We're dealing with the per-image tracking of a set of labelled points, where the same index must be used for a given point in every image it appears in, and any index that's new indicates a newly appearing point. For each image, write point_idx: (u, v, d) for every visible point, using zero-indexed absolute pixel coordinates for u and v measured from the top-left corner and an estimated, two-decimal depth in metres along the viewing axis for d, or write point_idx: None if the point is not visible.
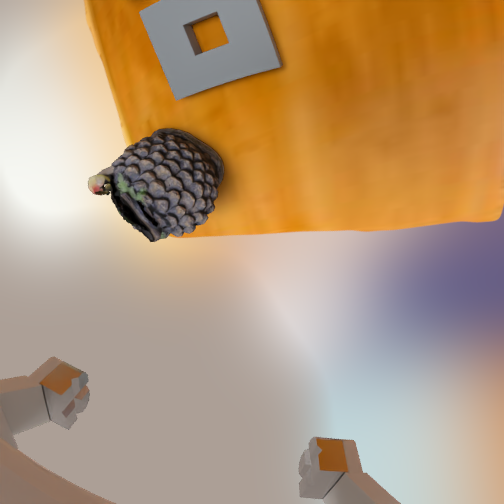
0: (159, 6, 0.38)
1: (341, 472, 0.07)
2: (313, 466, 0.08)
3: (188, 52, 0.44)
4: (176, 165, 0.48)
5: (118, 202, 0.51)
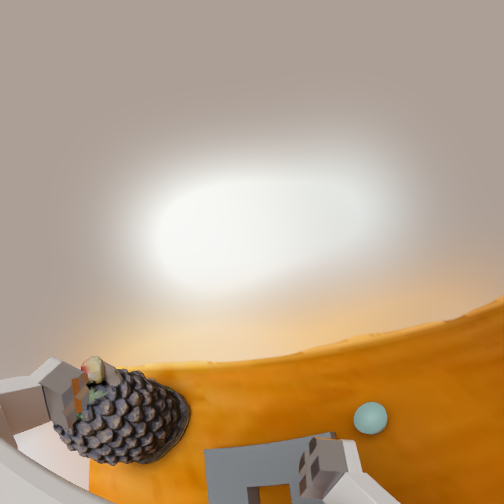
0: None
1: (341, 472, 0.07)
2: (313, 466, 0.08)
3: (252, 481, 0.35)
4: (116, 446, 0.35)
5: None
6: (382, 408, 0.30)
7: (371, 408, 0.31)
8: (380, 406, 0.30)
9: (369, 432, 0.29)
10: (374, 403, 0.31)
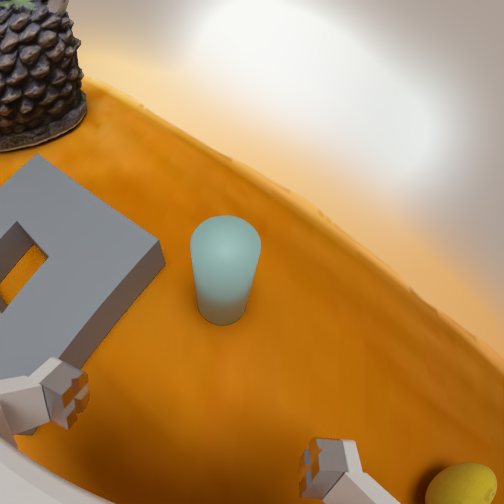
0: (113, 271, 0.21)
1: (341, 472, 0.07)
2: (313, 466, 0.08)
3: (28, 219, 0.22)
4: None
5: None
6: (257, 249, 0.17)
7: (242, 234, 0.18)
8: (257, 244, 0.18)
9: (200, 262, 0.17)
10: (253, 232, 0.18)
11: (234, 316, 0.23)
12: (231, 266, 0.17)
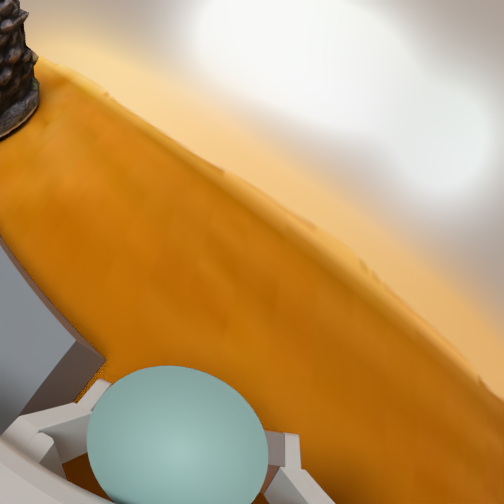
0: (11, 391, 0.09)
1: (276, 466, 0.07)
2: None
3: None
4: None
5: None
6: (258, 470, 0.05)
7: (218, 426, 0.06)
8: (259, 455, 0.05)
9: (114, 493, 0.04)
10: (250, 418, 0.06)
11: None
12: None
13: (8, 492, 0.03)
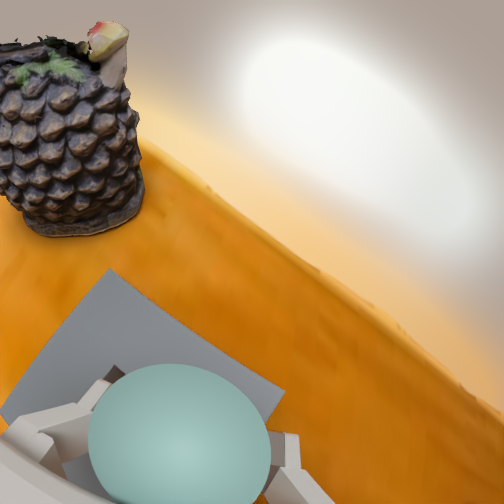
0: None
1: (276, 466, 0.07)
2: None
3: (129, 364, 0.24)
4: (20, 163, 0.21)
5: (97, 62, 0.24)
6: (260, 469, 0.05)
7: (220, 425, 0.06)
8: (262, 453, 0.05)
9: (115, 492, 0.04)
10: (253, 417, 0.06)
11: None
12: None
13: (8, 492, 0.03)
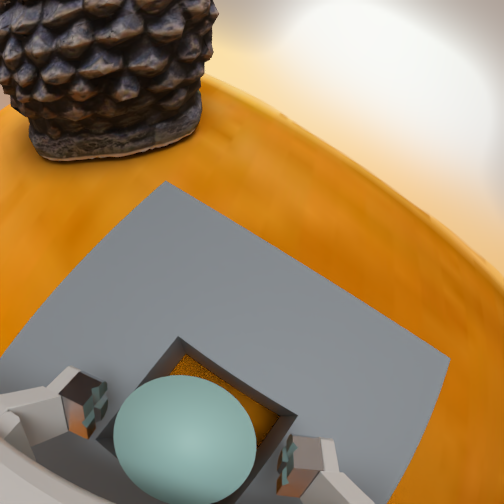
0: (414, 418, 0.12)
1: (316, 470, 0.07)
2: (288, 463, 0.08)
3: (209, 334, 0.14)
4: (50, 19, 0.11)
5: None
6: (248, 457, 0.07)
7: (217, 422, 0.07)
8: (249, 444, 0.07)
9: (135, 477, 0.06)
10: (242, 416, 0.08)
11: None
12: (195, 490, 0.06)
13: (8, 492, 0.03)
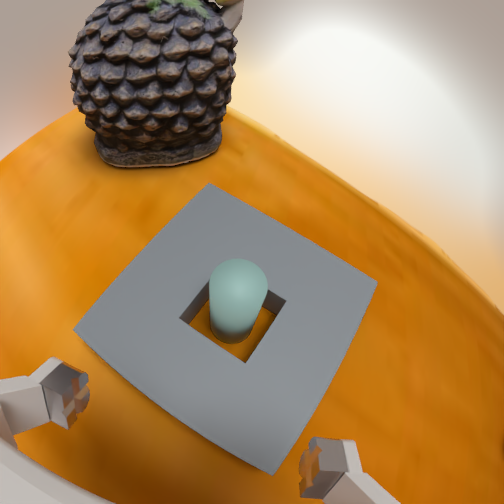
0: (354, 311, 0.26)
1: (341, 472, 0.07)
2: (313, 466, 0.08)
3: None
4: (133, 78, 0.25)
5: None
6: (264, 289, 0.21)
7: (252, 275, 0.21)
8: (265, 284, 0.21)
9: (218, 300, 0.20)
10: (262, 273, 0.22)
11: (242, 337, 0.26)
12: (243, 304, 0.20)
13: (8, 492, 0.03)
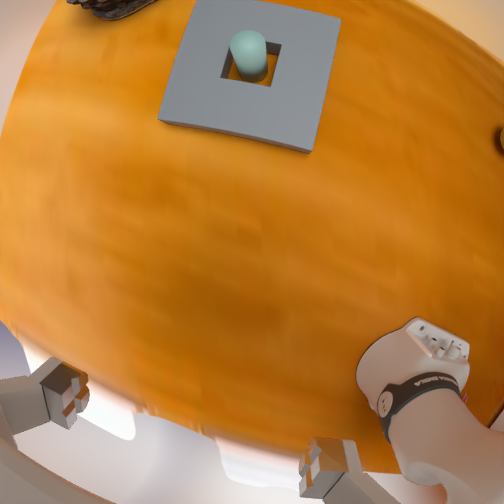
0: (329, 39, 0.32)
1: (341, 472, 0.07)
2: (313, 466, 0.08)
3: None
4: None
5: None
6: (263, 41, 0.28)
7: (253, 36, 0.28)
8: (262, 39, 0.28)
9: (239, 56, 0.29)
10: (258, 33, 0.28)
11: (263, 74, 0.36)
12: (254, 52, 0.28)
13: (8, 492, 0.03)
